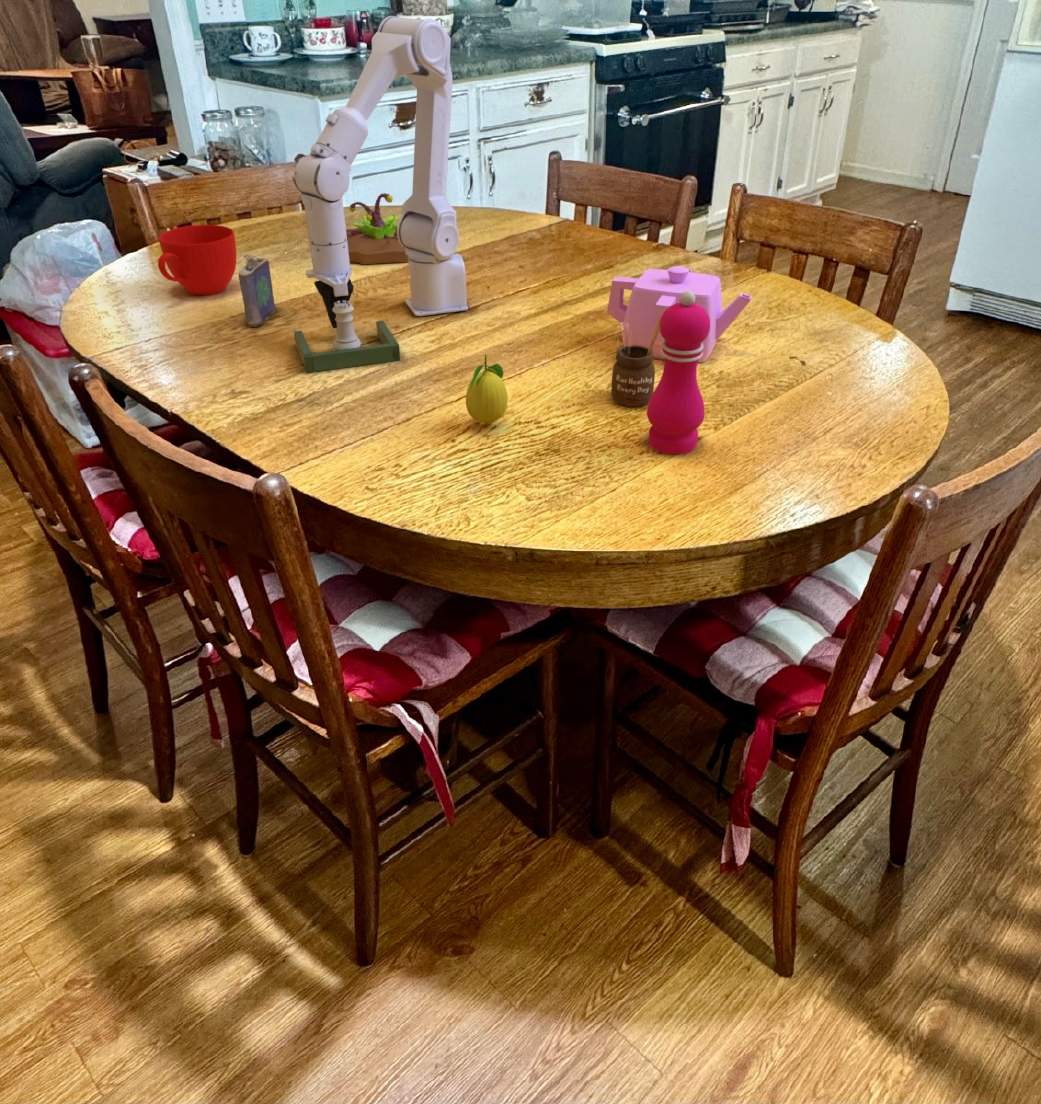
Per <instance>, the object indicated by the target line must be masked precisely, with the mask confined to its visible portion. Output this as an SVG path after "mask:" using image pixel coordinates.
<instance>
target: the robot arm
mask: <svg viewBox="0 0 1041 1104" xmlns="http://www.w3.org/2000/svg"><path fill="white" fill-rule="evenodd" d="M451 43H452V38H451V37H450V36H449V34H448V33H447V31H446V30H445V28H444V27H443V25H442V24H441V23H440V22H439V21H438V20H436V19H433V18H425V19H423V18H422V19H420V18H410V17H409V18H408V17H399V16H397V15H389V16H387V17H384V19H383V20H382V21H381V22H380V23H379V25H378V28H377V31H376V32H375V33H374V34H373V36H372V38H371V53H370V54H369V57H368V58H367V61H366V63H365V65H364V68H363V69H362V72H361V73H360V76H359V77H358V80H357V82H356V84H355V86H354V88H353V90H352V93H351V94H350V97H349V99H348V101H347V104H346V105H345V106H344V107H341V108H336V109H334V110H333V111H332V113H328V115H327V117H326V118H325V123H326V124H325V125H324V128H323V129H322V131H321V132H320V135H319V137H318V138H317V140H316V142H315V143H314V144H312V146H311V148H310V153H309V154H306V155H305V156H302V157H301V158H300V159H299V160H298V162H297V164H296V165H295V168H294V175H293V176H291V181H292V184H293V187H294V188H295V189H296V191H297V192H298V193H299V194H300V197H301V203H302V205H304V206H303V207H304V215H305V222H306V230H307V235H308V244H309V249H310V255H311V256H310V257H311V264H312V268H311V269H306V270H305V276H306V278H308V279H316V281H314V282H313V284H314V286H315V288H316V290H317V292H318V293H319V295H320V296H321V298H322V301H323V304H324V307H325V309H326V310H325V311H326V313H327V316H328V319H329V322H330V324H331V327H332V329H337V321H336V320H335V318H336V314H335V313H334V312H333V310H332V309H333V308H334V303H335V302H336V303H337V301H340V303H343V300H346V303H347V301H350V300H351V296H352V294H353V292H354V288H355V287H354V286H355V285H354V284H353V283H352V280H351V276H352V275H353V269H352V266H351V262H350V261H349V252H348V243H347V235H346V230H347V226H346V217H345V210H344V201H343V200H344V199H343V197H344V195H345V194H346V193H347V192H348V190H349V187H350V172H351V171H352V168H351V167H352V164H353V162H354V161H355V159H356V158H357V155H358V154H359V152H360V150H361V148H362V147H363V145H364V143H365V141H366V139H367V137H368V136H369V130H368V125H367V121H368V119H369V118H370V117H371V115H372V113H373V112H374V110H375V109H376V107H377V106H378V104H379V102H380V101H381V100H382V98H383V96H385V94H386V92H387V90H388V89H389V87H390V86H391V85H392V84H393V81H394V80H395V79H396V78H399V77H403V76H406V77H407V78H408V80H409V81H410V82H411V83H412V85H413V86H414V87H415V89H416V98H415V99H416V100H415V101H416V102H415V103H416V105H415V121H414V122H415V126H414V148H413V170H412V193H411V195H410V196H409V197H408V198H407V199H406V200H405V201H404V202H403V203H402V204H401V205H402V206H401V215H400V218H399V221H398V222H397V223H398V226H397V237H398V241H399V243H400V244H401V245H402V246H403V247H404V248H405V253H406V255H408V262H407V263H408V277H409V287H410V288H409V289H410V298H408V299H407V298H406V299H405V300H404V302H405V304H406V305H407V307H408V308H409V310H410V311H411V313H412V314H413V315H414V316H415V317H423V316H424V317H425V316H431V315H441V314H448V313H455V312H465V311H468V310H469V307H468V301H467V299H468V298H467V274H466V267H465V262H464V261H465V260H464V259H463V257H462V255H461V254H460V253H456V251H457V249H458V247H459V244H460V231H459V228H458V224H457V215H458V214H457V211H456V210H455V208H454V207H453V206H452V205H451V203H450V201H449V200H448V199H447V197H446V196H447V181H448V180H447V178H448V165H449V164H448V163H449V146H450V131H451V115H452V113H451V112H452V99H453V84H454V83H453V72H452V67H451V62H450V60H451Z"/></svg>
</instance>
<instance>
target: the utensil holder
mask: <svg viewBox="0 0 1041 1104" xmlns="http://www.w3.org/2000/svg"><path fill="white" fill-rule="evenodd" d="M661 316H662V315H661ZM661 316H660V318H659V321H658V323H657V326H656V328H655V331H654V334H653V339H652V342H651V345H650V348H647V347H644V346H638V345H629V346H625V343H624V345H623V346H621V345H620V342H619V341H616V339H614V341H615V346H618V347H617V351H616V353H615V363H614V364H613V366H612V373H611V386H610V387H611V389H610V393H611V398H612V400H613V401H614V402H615V403H617V405H622V406H624V407H625V406H626V407H641V406H645V405H648V404H649V401H650V398H651V396H652V394H653V392H654V391H655V379H656V378H655V377H656V369H655V365H654V363H653V362H654V360H655V358H654V355H653V351H652V350H651V349H652V347H653V344H654V341H655V340H656V338H657V335H658V332H659V324H660V319H661ZM625 324H626V323H624V325H625ZM621 325H623V323H620V322H618V323H617V326H615V327H614V330H613V331H614V332H613V333H614V336H616V338H617V340H619V337H618V335H616V332H618V330H619V327H620V326H621ZM624 325H623V326H624ZM626 325H628V324H626ZM626 325H625V326H626ZM628 326H629V325H628ZM626 327H627V326H626ZM629 327H630V326H629ZM627 329H628V328H627ZM630 329H631V328H630ZM621 331H622V332H621V333H623V327H621ZM628 332H629V330H628ZM631 334H632V332H631ZM623 339H624V335H623V334H622V340H623ZM629 342H630V335H629Z"/></svg>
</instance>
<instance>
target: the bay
mask: <svg viewBox="0 0 1041 1104" xmlns="http://www.w3.org/2000/svg"><path fill="white" fill-rule="evenodd" d="M375 325H376V336H377V337H378V339H379V341H380V342H381V343H380V344H374V345H373V344H372V345H366V346H360V347H358V348H350V349H342V350H335V351H333V350H329V351H319V352H313V353H312V351H311V349H310V347H309V345H308V343H307V340H306V338H305V336H304V332H303V331H302V330H295V331H293V336H294V341H295V342H294V343H295V347H296V351H297V352H298V355H299V357H300V360H301V362H302V365H303V367H304V370H305V372H306V374H310V373H316V372H324V371H332V370H339V369H346V368H352V367H360V366H368V365H375V364H381V363H389V362H396V361H401V352H400V344H399V343H398V341H397V340H396V338H395V337H394V335H393V334H392V332H391V330H390V329H389V328H388V326H387V324H386V322H385V321H384V320H377V321H376V322H375Z"/></svg>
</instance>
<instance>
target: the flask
mask: <svg viewBox="0 0 1041 1104" xmlns="http://www.w3.org/2000/svg"><path fill="white" fill-rule="evenodd" d="M242 258H243V259H245V258H246V262H245V264H246V265H244V266H243V267H242V268H241V269H240V270H239V272H238V281H239V284H240V291H241V296H242V303H243V309H244V315H245V321H246V325H247V327H249V328H252V327H253V328H257V327H259V326H262V325H263V324H264V322H265V321H267V320H268V319H269V317H271V316H272V314H274V313H275V312H276V311H277V310H276V305H275V297H274V290H273V283H272V276H271V270H270V268H271V267H270V262H269V259H268V258H263V257H256V256H255V255H254V256H253V255H252V254H248V253H246V254H245V255H243V257H242Z"/></svg>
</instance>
